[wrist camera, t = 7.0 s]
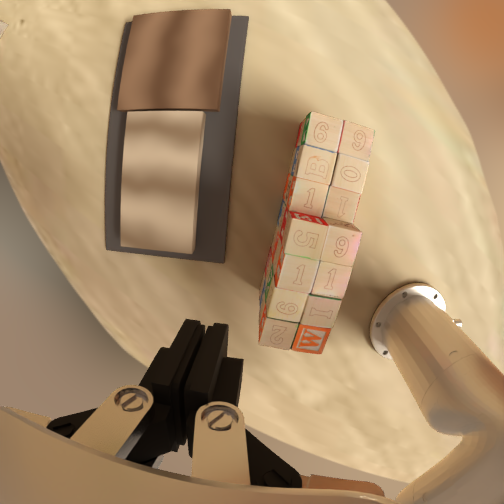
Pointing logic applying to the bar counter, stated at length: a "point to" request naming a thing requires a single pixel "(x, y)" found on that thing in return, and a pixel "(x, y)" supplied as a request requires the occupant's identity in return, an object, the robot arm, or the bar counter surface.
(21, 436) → the robot arm
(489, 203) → the bar counter surface
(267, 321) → the stack of blocks
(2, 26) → the small box
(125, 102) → the laid board
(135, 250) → the underlay mat
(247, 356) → the bar counter surface
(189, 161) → the plank
